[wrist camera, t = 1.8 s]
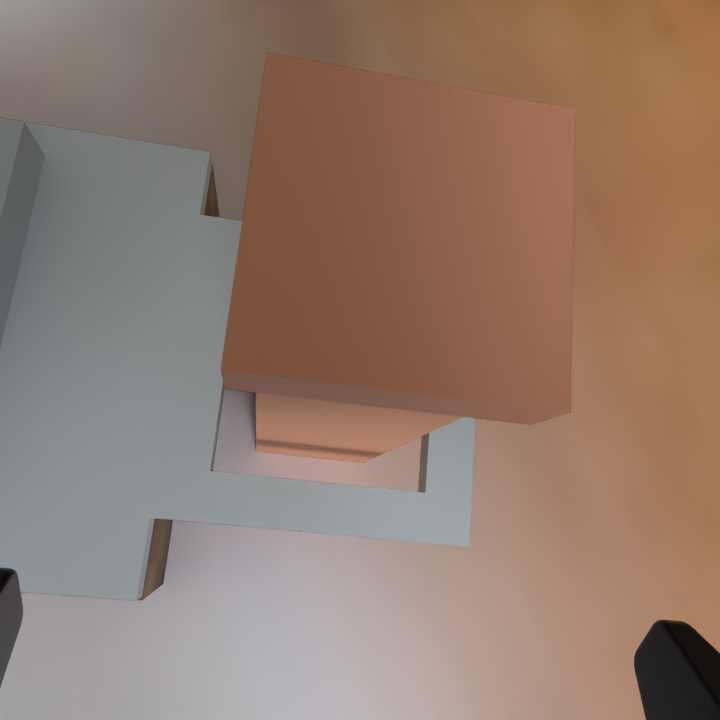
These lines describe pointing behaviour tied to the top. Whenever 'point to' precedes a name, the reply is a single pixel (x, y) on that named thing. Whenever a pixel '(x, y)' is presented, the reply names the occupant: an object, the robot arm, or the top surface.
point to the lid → (144, 374)
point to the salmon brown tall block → (399, 261)
